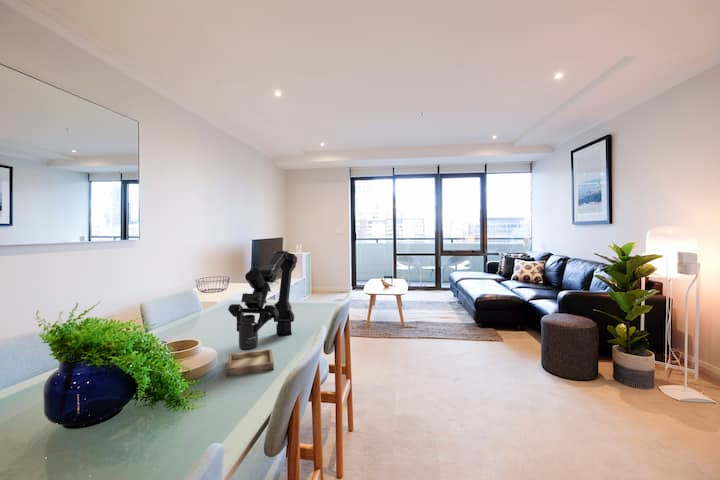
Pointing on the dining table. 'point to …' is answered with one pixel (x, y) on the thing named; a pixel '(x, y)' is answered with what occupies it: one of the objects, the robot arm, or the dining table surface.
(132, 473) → the dining table surface
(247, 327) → the supplement bottle
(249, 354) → the oak tray
